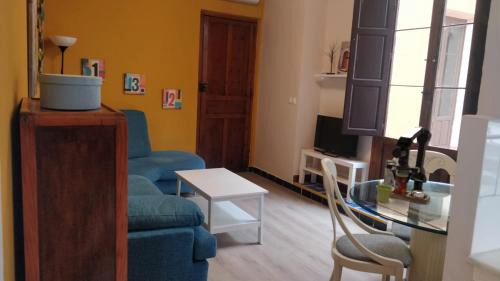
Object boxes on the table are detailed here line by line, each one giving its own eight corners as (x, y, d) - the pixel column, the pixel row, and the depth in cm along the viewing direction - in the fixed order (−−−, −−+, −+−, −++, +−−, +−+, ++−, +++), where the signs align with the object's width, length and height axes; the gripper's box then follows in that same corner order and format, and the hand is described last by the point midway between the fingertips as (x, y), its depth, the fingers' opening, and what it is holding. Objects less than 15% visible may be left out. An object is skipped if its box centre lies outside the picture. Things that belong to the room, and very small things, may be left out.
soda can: (391, 192, 250) (393, 173, 248) (399, 191, 253) (401, 172, 251) (400, 195, 244) (403, 176, 242) (408, 194, 247) (411, 175, 245)
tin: (413, 197, 247) (414, 190, 246) (424, 200, 244) (425, 192, 243) (410, 200, 242) (411, 192, 241) (422, 202, 238) (423, 194, 238)
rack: (392, 192, 256) (393, 188, 256) (429, 199, 244) (430, 195, 244) (387, 196, 247) (387, 192, 247) (425, 204, 235) (426, 199, 234)
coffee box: (383, 181, 286) (385, 159, 284) (392, 182, 285) (395, 160, 282) (384, 184, 277) (387, 161, 275) (394, 185, 276) (397, 162, 273)
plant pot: (390, 200, 239) (392, 186, 238) (392, 204, 230) (393, 189, 229) (374, 198, 242) (375, 184, 240) (374, 202, 233) (376, 187, 231)
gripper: (384, 156, 243) (382, 181, 246) (417, 160, 233) (414, 187, 235) (389, 153, 253) (387, 178, 255) (421, 158, 242) (418, 183, 245)
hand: (401, 181), depth 247 cm, fingers closed on soda can, 7 cm apart
